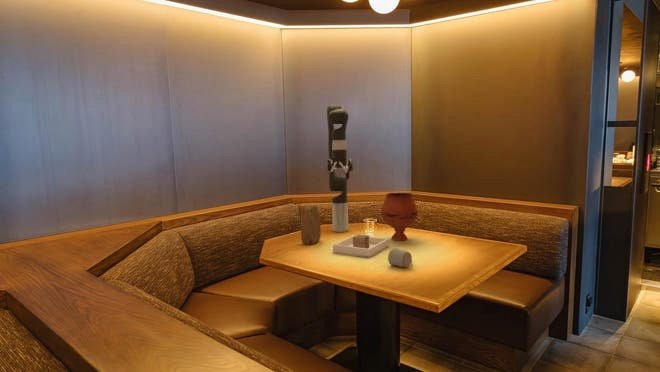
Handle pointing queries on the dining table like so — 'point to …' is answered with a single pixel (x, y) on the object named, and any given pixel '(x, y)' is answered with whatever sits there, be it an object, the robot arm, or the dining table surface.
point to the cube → (361, 241)
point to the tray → (348, 249)
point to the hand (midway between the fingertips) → (340, 179)
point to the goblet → (399, 213)
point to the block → (310, 225)
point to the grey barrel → (399, 257)
